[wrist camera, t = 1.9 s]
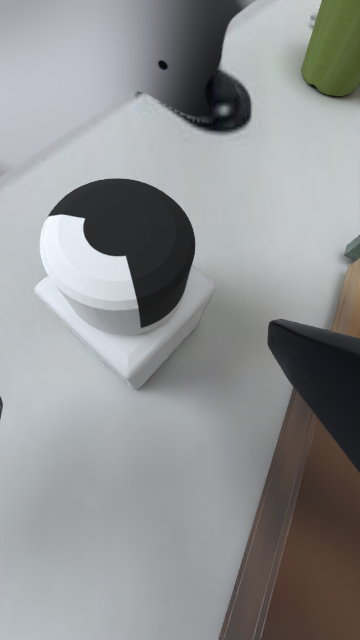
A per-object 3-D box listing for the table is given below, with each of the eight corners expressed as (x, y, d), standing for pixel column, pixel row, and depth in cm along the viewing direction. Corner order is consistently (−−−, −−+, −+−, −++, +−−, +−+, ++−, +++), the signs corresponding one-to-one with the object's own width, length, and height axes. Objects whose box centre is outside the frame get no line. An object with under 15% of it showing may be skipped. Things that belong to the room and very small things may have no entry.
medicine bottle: (134, 269, 23) (119, 129, 12) (198, 324, 22) (249, 228, 11) (67, 328, 21) (-30, 225, 10) (135, 392, 20) (116, 363, 9)
